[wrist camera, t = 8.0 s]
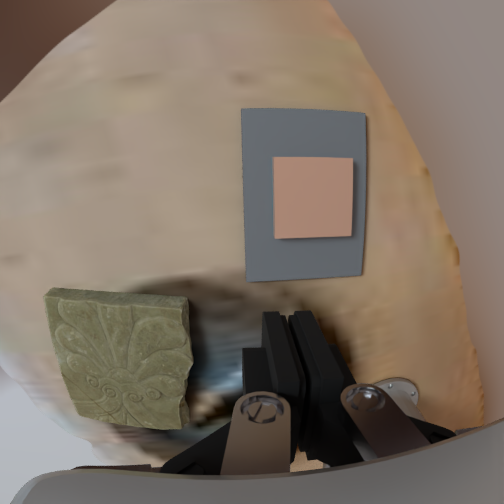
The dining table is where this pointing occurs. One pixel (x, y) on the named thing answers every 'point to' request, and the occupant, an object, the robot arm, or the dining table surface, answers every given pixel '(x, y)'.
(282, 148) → the rubber mat
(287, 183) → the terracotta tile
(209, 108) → the dining table surface
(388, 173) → the dining table surface
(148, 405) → the decorative tile
